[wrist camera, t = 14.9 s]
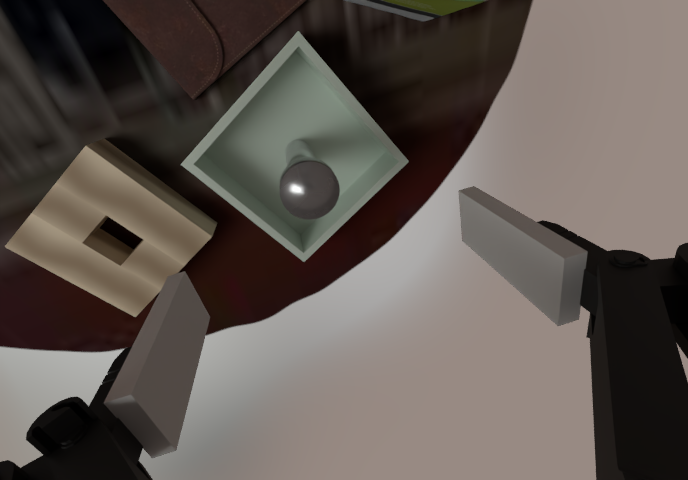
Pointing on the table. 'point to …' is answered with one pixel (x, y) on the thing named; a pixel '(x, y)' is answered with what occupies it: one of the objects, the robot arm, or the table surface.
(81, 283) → the hitch block
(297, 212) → the steel pin
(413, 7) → the tea box
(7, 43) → the table surface
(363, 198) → the parts bin
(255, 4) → the notebook
